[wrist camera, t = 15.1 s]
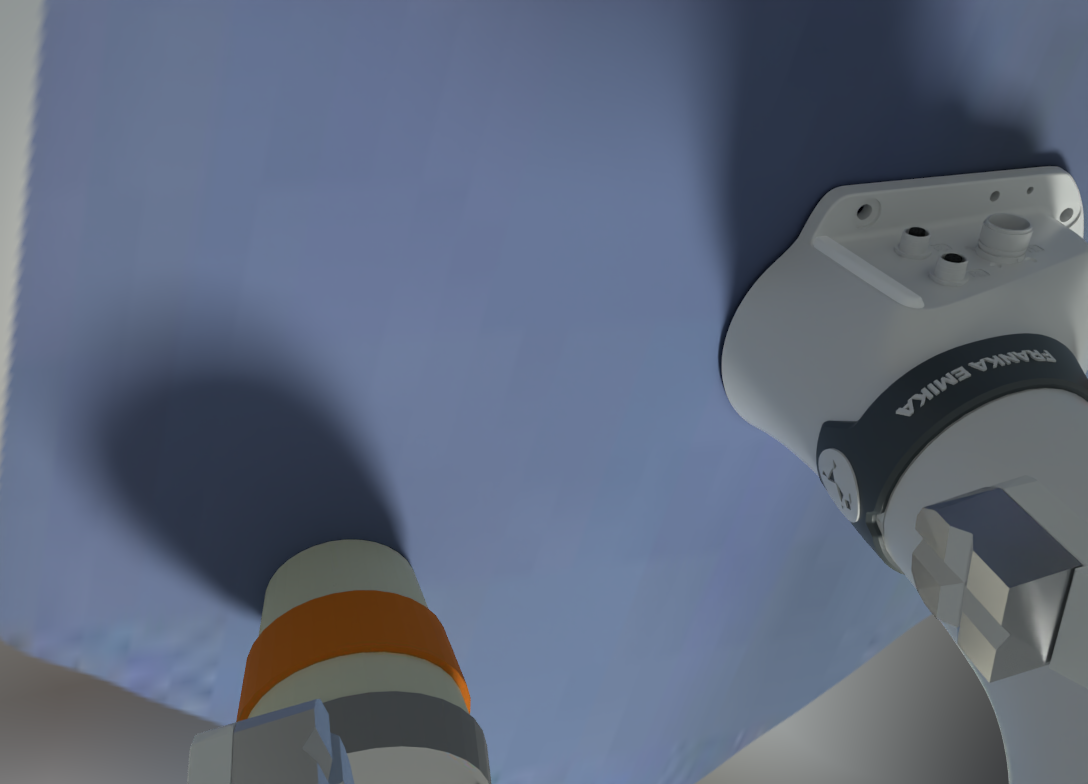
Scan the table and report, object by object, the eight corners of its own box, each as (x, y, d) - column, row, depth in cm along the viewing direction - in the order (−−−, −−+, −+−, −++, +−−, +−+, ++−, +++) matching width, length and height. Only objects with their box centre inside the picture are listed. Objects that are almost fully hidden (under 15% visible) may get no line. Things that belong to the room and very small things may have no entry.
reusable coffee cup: (456, 509, 53) (515, 726, 41) (435, 655, 59) (482, 879, 47) (229, 521, 49) (221, 763, 37) (234, 675, 56) (229, 923, 44)
